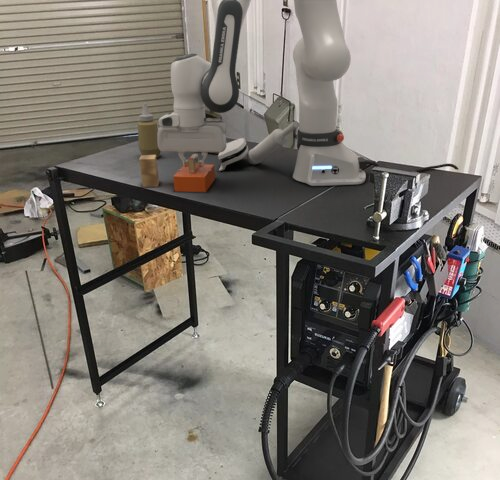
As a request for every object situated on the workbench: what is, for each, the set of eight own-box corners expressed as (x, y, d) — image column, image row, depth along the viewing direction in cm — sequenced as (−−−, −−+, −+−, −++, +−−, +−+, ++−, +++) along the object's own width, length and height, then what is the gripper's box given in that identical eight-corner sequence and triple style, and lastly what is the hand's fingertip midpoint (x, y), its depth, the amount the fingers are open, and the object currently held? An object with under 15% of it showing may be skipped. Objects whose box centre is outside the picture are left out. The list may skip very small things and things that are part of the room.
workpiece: (159, 182, 168) (156, 154, 163) (157, 186, 164) (154, 158, 159) (144, 182, 168) (140, 155, 163) (142, 187, 164) (139, 159, 159)
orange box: (184, 178, 170) (182, 163, 168) (217, 179, 169) (216, 164, 166) (172, 191, 160) (171, 175, 157) (207, 192, 158) (206, 176, 155)
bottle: (261, 156, 183) (305, 122, 161) (256, 168, 181) (300, 136, 160) (249, 147, 181) (291, 112, 159) (244, 159, 179) (286, 125, 158)
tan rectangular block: (194, 167, 164) (193, 152, 162) (199, 167, 164) (198, 153, 162) (189, 173, 159) (187, 158, 157) (194, 173, 159) (193, 158, 157)
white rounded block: (219, 171, 175) (247, 161, 172) (213, 158, 173) (241, 147, 170) (226, 158, 189) (252, 148, 186) (220, 145, 187) (247, 135, 184)
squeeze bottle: (163, 154, 196) (157, 101, 187) (161, 160, 190) (155, 105, 180) (141, 154, 196) (134, 102, 187) (138, 160, 189) (131, 106, 180)
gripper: (227, 115, 155) (230, 164, 162) (159, 115, 158) (164, 163, 165) (223, 120, 149) (225, 170, 157) (152, 120, 152) (158, 169, 160)
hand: (194, 166), depth 161 cm, fingers open, 3 cm apart
